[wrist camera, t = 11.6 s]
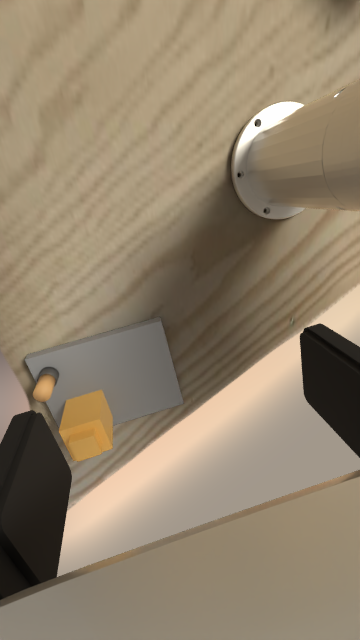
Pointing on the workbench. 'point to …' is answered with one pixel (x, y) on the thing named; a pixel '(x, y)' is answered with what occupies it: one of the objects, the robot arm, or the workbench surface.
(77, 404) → the stepped orange block
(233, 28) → the workbench surface
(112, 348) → the board
